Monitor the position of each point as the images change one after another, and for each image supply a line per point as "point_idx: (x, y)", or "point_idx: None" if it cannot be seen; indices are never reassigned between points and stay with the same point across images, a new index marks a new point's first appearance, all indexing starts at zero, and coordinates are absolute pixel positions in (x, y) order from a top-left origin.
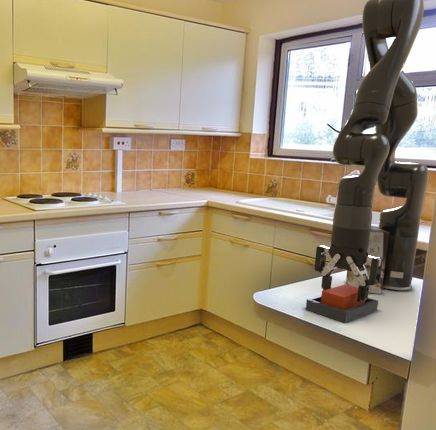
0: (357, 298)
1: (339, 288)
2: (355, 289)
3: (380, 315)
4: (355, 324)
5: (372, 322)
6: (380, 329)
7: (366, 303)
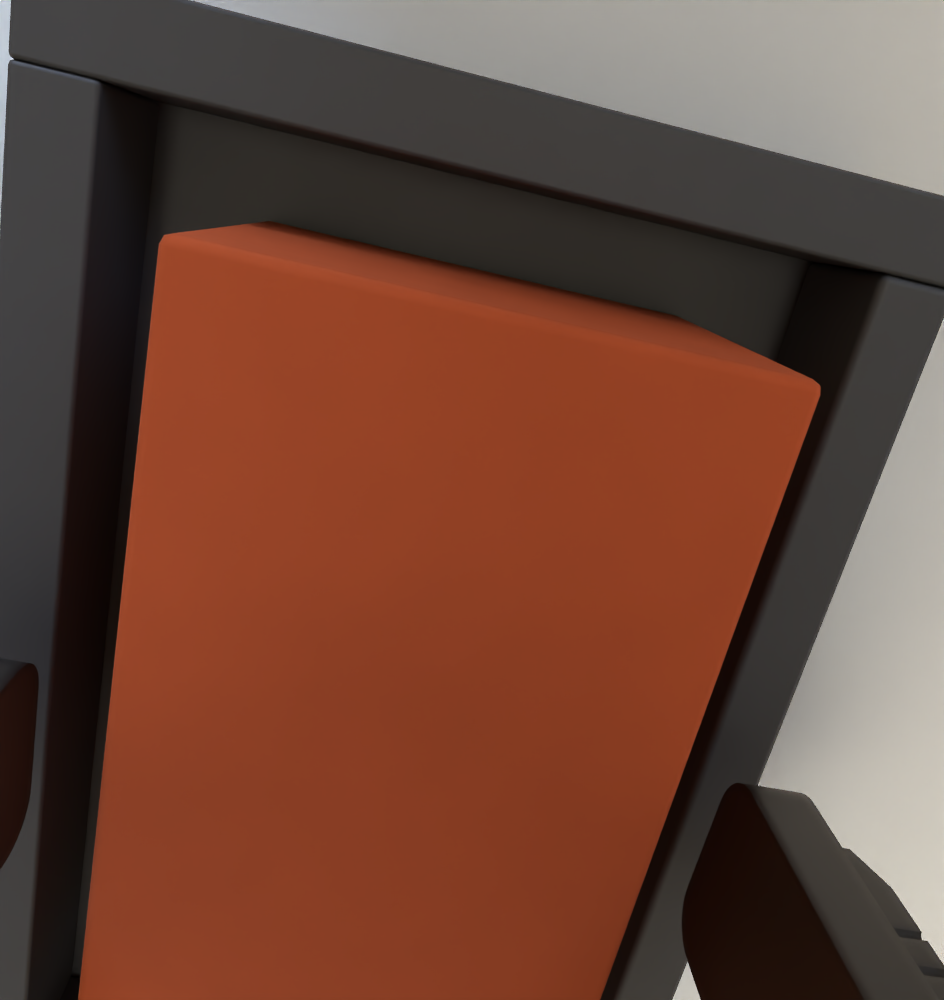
0: (700, 981)
1: (234, 805)
2: (567, 579)
3: (926, 423)
4: (677, 996)
5: (842, 798)
6: (939, 944)
7: (786, 621)
